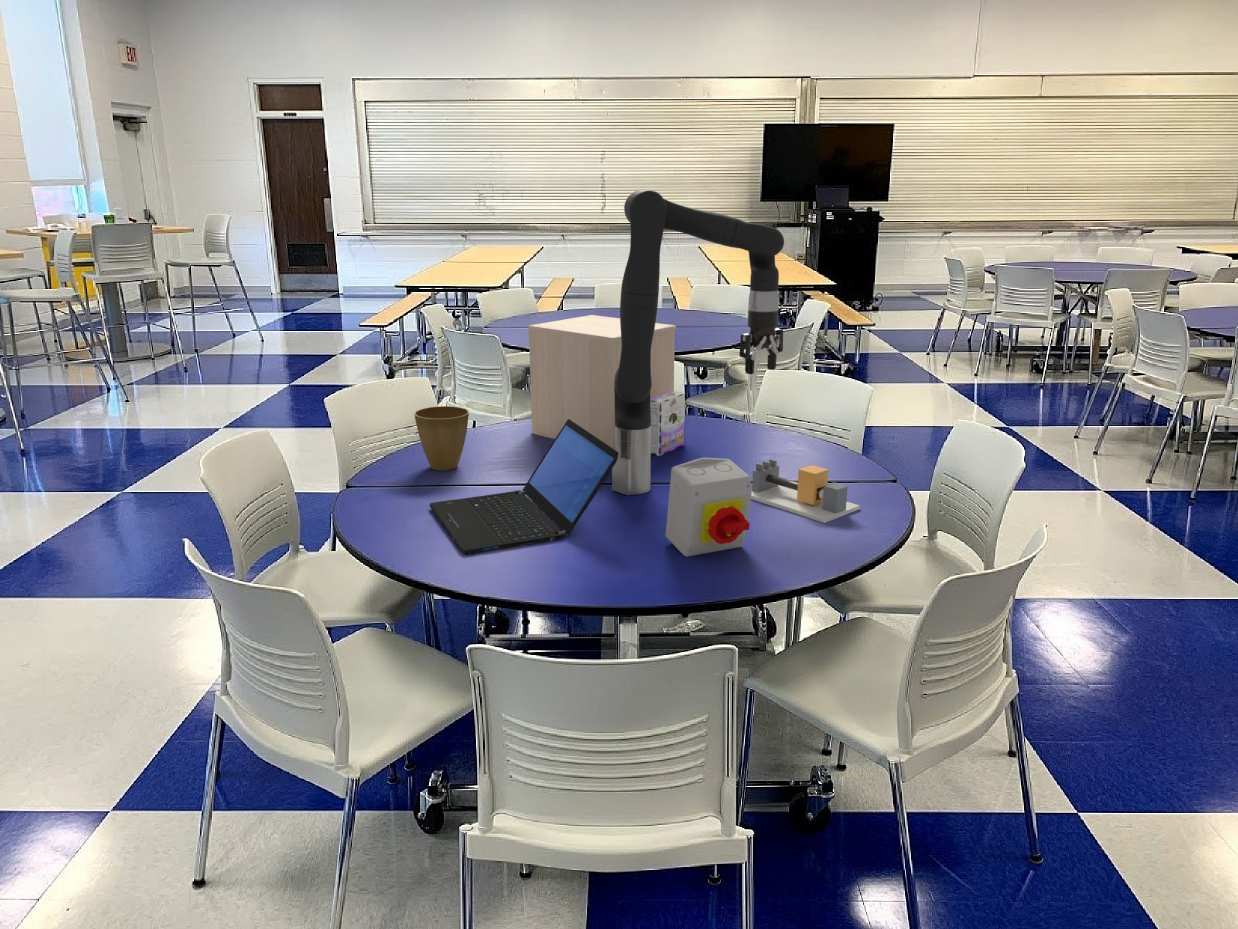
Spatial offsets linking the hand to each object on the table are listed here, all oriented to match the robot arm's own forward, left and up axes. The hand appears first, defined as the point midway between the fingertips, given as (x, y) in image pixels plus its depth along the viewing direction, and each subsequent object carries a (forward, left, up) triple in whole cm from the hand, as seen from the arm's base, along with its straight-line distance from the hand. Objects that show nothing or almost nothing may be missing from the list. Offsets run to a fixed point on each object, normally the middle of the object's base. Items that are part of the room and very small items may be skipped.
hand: (760, 371), depth 242 cm
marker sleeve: (-4, -21, -29) cm, 36 cm away
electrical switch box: (-43, -24, -30) cm, 58 cm away
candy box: (+4, +39, -30) cm, 50 cm away
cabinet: (+2, +65, -30) cm, 72 cm away
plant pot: (-54, +68, -30) cm, 92 cm away
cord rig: (-4, -18, -30) cm, 35 cm away
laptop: (-62, +19, -31) cm, 72 cm away
